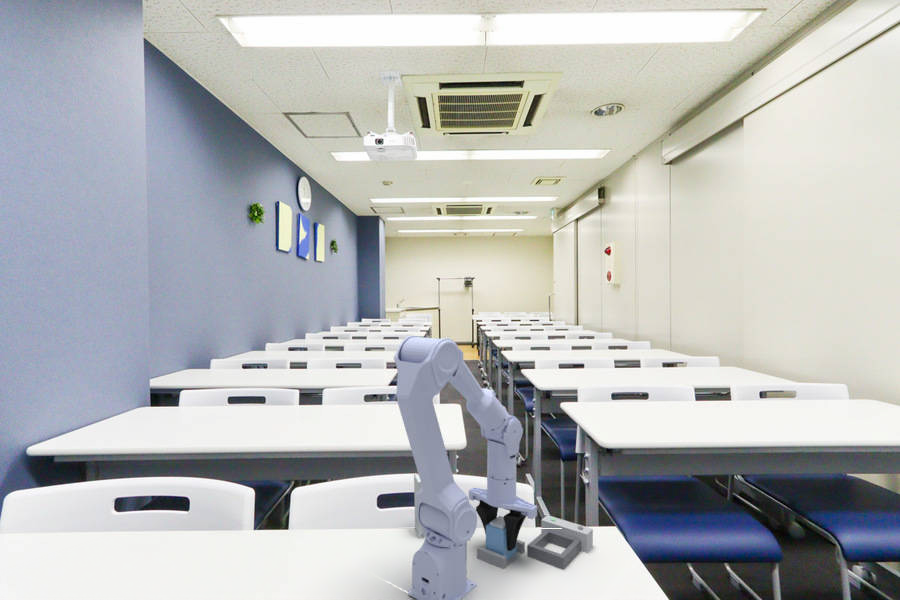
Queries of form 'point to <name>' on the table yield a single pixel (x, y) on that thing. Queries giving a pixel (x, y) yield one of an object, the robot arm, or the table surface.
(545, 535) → the port
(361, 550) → the table surface
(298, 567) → the table surface
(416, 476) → the skincare box
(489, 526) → the plug
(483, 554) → the grey u-shaped bracket
